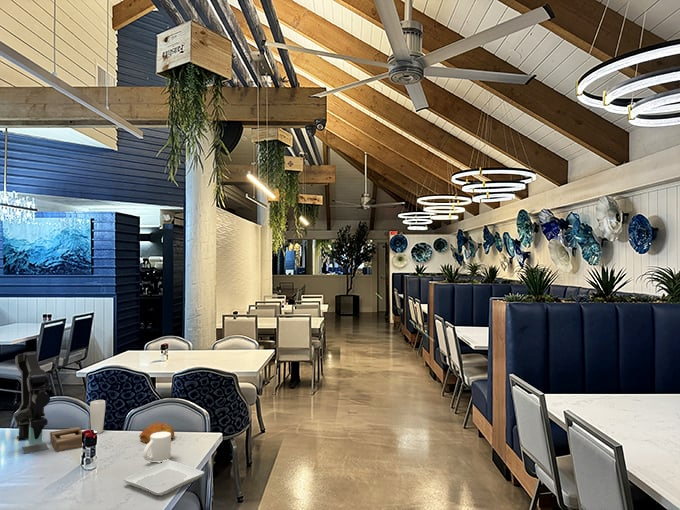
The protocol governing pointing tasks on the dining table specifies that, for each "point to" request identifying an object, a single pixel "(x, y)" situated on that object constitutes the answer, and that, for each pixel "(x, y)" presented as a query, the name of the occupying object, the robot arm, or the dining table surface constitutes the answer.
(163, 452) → the mug
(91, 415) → the drinking glass
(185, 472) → the salad plate
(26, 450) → the mat
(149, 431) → the croissant
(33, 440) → the block
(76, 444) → the crate
